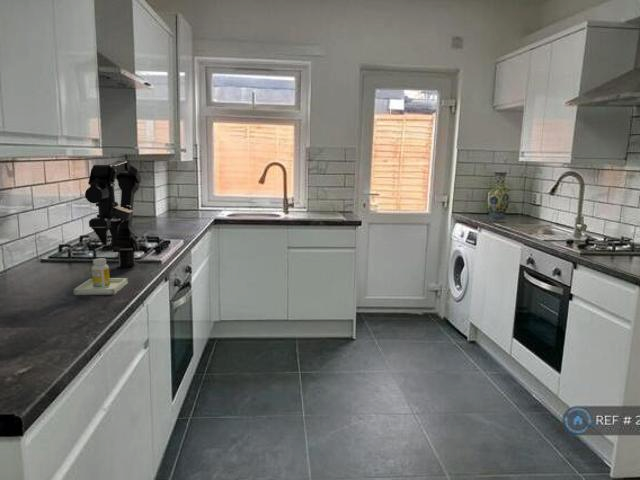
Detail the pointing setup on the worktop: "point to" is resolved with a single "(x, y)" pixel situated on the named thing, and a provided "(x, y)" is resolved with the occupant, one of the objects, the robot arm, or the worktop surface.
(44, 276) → the worktop surface
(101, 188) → the robot arm
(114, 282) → the sage tray
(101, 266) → the supplement bottle
